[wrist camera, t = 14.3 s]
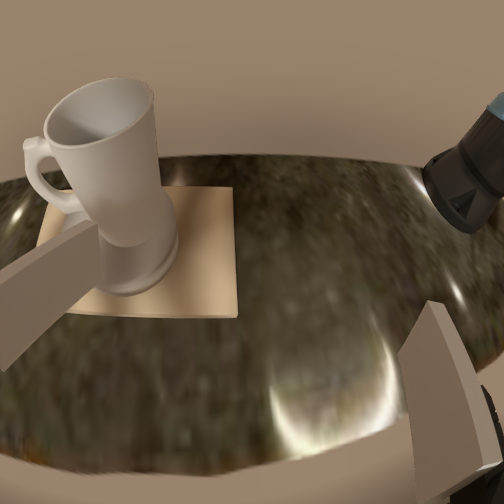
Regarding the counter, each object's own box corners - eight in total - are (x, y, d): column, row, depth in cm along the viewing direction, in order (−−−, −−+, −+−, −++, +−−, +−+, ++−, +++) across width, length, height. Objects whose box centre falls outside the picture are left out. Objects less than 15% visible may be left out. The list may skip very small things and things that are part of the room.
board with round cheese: (231, 195, 33) (236, 163, 28) (236, 317, 27) (243, 303, 22) (56, 198, 29) (40, 170, 24) (32, 309, 23) (4, 293, 18)
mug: (164, 180, 26) (154, 69, 15) (172, 243, 23) (154, 133, 12) (67, 199, 23) (19, 104, 12) (62, 262, 21) (-12, 176, 10)
